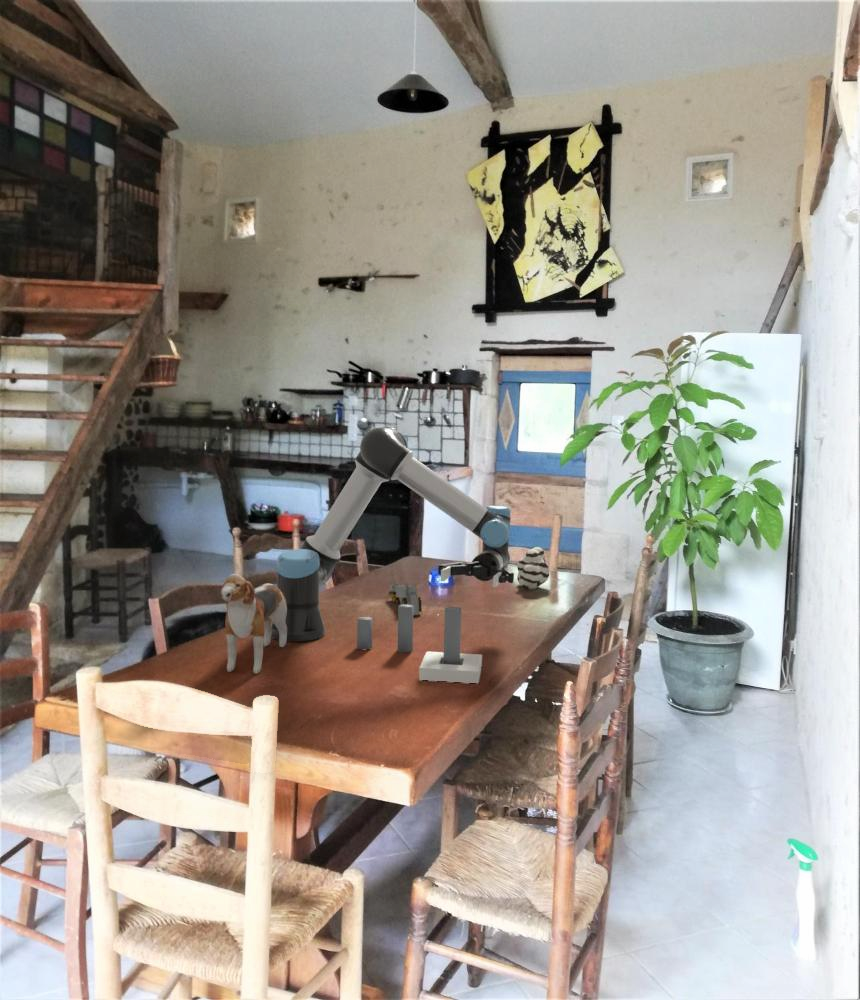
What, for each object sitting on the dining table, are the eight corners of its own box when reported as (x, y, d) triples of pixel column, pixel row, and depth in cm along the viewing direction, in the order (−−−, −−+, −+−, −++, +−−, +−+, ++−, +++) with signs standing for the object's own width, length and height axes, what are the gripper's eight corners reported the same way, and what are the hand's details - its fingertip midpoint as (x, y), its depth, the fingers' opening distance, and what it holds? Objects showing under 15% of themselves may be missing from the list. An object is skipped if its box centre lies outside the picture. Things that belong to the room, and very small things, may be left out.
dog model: (203, 686, 182) (203, 577, 179) (266, 639, 222) (266, 549, 219) (244, 689, 180) (244, 579, 178) (299, 641, 221) (300, 551, 218)
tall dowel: (442, 675, 194) (444, 609, 193) (443, 670, 198) (445, 606, 197) (458, 676, 194) (460, 610, 192) (460, 671, 198) (462, 607, 196)
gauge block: (419, 680, 190) (419, 667, 190) (426, 662, 204) (426, 651, 204) (478, 684, 188) (478, 671, 188) (481, 666, 202) (482, 654, 202)
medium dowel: (396, 652, 213) (397, 607, 212) (398, 647, 217) (399, 604, 216) (411, 653, 212) (412, 608, 211) (413, 648, 216) (414, 604, 215)
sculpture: (519, 582, 312) (520, 543, 310) (551, 584, 309) (553, 545, 307) (511, 593, 290) (513, 552, 289) (546, 596, 287) (548, 554, 286)
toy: (405, 615, 252) (404, 583, 253) (387, 612, 274) (387, 583, 275) (422, 614, 253) (421, 582, 254) (403, 612, 276) (402, 582, 277)
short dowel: (355, 649, 214) (356, 620, 213) (358, 645, 218) (359, 616, 217) (370, 650, 214) (370, 620, 213) (373, 646, 218) (373, 617, 217)
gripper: (530, 584, 220) (515, 599, 200) (443, 574, 227) (420, 587, 207) (532, 556, 220) (517, 569, 199) (444, 547, 227) (421, 559, 206)
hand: (468, 578), depth 203 cm, fingers open, 13 cm apart
